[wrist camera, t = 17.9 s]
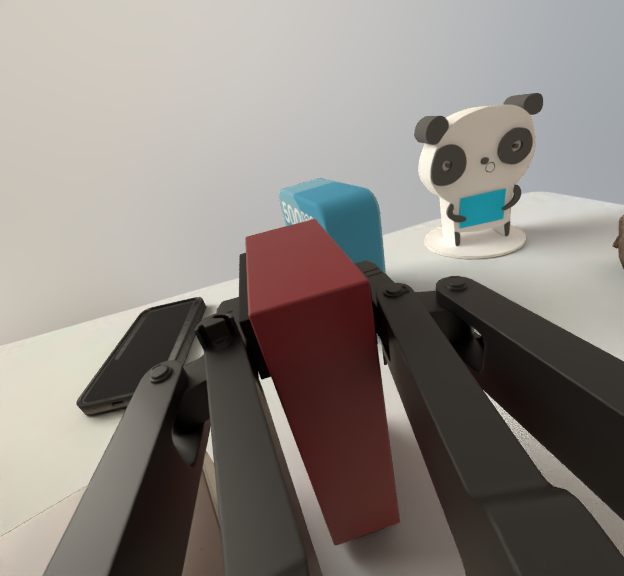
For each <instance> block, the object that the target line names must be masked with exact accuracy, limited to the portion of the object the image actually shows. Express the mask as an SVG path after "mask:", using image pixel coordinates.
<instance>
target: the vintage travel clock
mask: <svg viewBox="0 0 624 576" xmlns="http://www.w3.org/2000/svg"><path fill="white" fill-rule="evenodd" d="M613 247H615V248H618V249H619V259H620V262H621V264H622V266H623V268H624V215H623V216H622V217H621V218H620V220H619V236H618V237H617V239H616V240H615V242H614V243H613Z"/></svg>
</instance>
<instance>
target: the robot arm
mask: <svg viewBox="0 0 624 576" xmlns="http://www.w3.org/2000/svg"><path fill="white" fill-rule="evenodd" d="M354 264H355V265H356V266H357V267H358V269H359V270H360V271H361V272H362V273H363V274H364V275H365V277H366V278H367V279H368V280H369V284H370V292H371V300H372V308H373V316H374V324H375V331H376V333H377V334H378V336H379V337H380V339H381V342H382V350H383V359H384V365H387V363H388V366H389V369H390V371H391V374H392V377H393V379H394V382H395V385H396V387H397V390H398V392H399V395H400V398H401V400H402V403H403V406H404V408H405V411H406V414H407V416H408V419H409V421H410V424H411V427H412V429H413V432H414V435H415V437H416V440H417V442H418V445H419V448H420V450H421V453H422V456H423V458H424V461H425V464H426V466H427V469H428V471H429V474H430V477H431V479H432V482H433V485H434V487H435V490H436V493H437V495H438V498H439V500H440V503H441V506H442V508H443V511H444V514H445V516H446V519H447V522H448V524H449V527H450V529H451V532H452V535H453V537H454V540H455V543H456V545H457V548H458V551H459V553H460V556H461V559H462V562H463V565H464V569H465V573H466V576H624V557H623V556H622V554H621V553H620V552H619V550H618V549H617V548H616V546H615V545H614V544H613V542H612V541H611V540H610V538H609V537H608V536H607V534H606V533H605V532H604V530H603V529H602V528H601V526H600V525H599V524H598V522H597V521H596V520H595V518H594V517H593V516H592V514H591V513H590V512H589V511H588V510H587V509H586V507H585V506H584V505H583V504H582V503H581V502H580V500H579V499H578V498H576V497H575V496H574V495H572V494H571V493H570V492H569V491H567V490H565V489H561V488H557V487H554V486H552V485H551V484H550V483H549V482H547V480H546V479H545V478H544V477H543V475H542V474H541V473H540V471H539V470H538V468H537V467H536V466H535V464H534V463H533V461H532V460H531V458H530V457H529V455H528V454H527V453H526V451H525V450H524V448H523V447H522V445H521V444H520V443H519V441H518V440H517V438H516V437H515V435H514V434H513V433H512V431H511V430H510V428H509V427H508V425H507V424H506V422H505V421H504V420H503V418H502V417H501V415H500V414H499V412H498V411H497V410H496V408H495V407H494V405H493V404H492V402H491V401H490V400H489V398H488V397H487V395H486V394H485V392H486V393H487V394H488V395H489V396H490V397H491V398H492V399H494V400H495V401H496V402H497V403H498V404H499V405H500V406H501V407H502V408H503V409H504V410H505V411H506V412H507V413H509V414H510V415H511V416H512V417H513V418H514V419H515V420H516V421H517V422H518V423H519V424H520V425H521V426H523V427H524V428H525V429H526V430H527V431H528V432H529V433H530V434H531V435H532V436H533V437H534V438H535V439H537V440H538V441H539V442H540V443H541V444H542V445H543V446H544V447H545V448H546V449H547V450H548V451H549V452H551V453H552V454H553V455H554V456H555V457H556V458H557V459H558V460H559V461H560V462H561V463H562V464H563V465H565V466H566V467H567V468H568V469H569V470H570V471H571V472H572V473H573V474H574V475H575V476H576V477H577V478H579V479H580V480H581V481H582V482H583V483H584V484H585V485H586V486H587V487H588V488H589V489H590V490H591V491H593V492H594V493H595V494H596V495H597V496H598V497H599V498H600V499H601V500H602V501H603V502H604V503H605V504H606V505H608V506H609V507H610V508H611V509H612V510H613V511H614V512H615V513H616V514H617V515H618V516H619V517H620V518H622V519H623V520H624V361H622V360H620V359H618V358H616V357H614V356H613V355H611V354H609V353H607V352H605V351H603V350H601V349H600V348H598V347H596V346H594V345H592V344H590V343H588V342H587V341H585V340H583V339H581V338H579V337H577V336H575V335H574V334H572V333H570V332H568V331H566V330H564V329H563V328H561V327H559V326H557V325H555V324H553V323H551V322H550V321H548V320H546V319H544V318H542V317H540V316H538V315H537V314H535V313H533V312H531V311H529V310H527V309H526V308H524V307H522V306H520V305H518V304H516V303H514V302H513V301H511V300H509V299H507V298H505V297H503V296H501V295H500V294H498V293H496V292H494V291H492V290H490V289H489V288H487V287H485V286H483V285H481V284H479V283H477V282H476V281H474V280H472V279H469V278H466V277H460V276H450V277H446V278H443V279H441V280H439V281H438V282H437V283H436V291H428V292H414V291H413V289H412V288H411V287H410V286H408V285H406V284H402V283H394V282H393V281H392V280H391V279H390V278H389V277H388V276H387V275H386V274H385V273H383V271H382V270H381V269H379V267H378V266H377V265H376V264H375V263H373V262H370V261H367V260H365V261H361V262H358V263H354ZM239 265H240V266H239V268H240V269H239V271H240V272H239V297H237V298H233V299H230V300H226V301H223V302H222V303H221V304H220V306H219V307H218V308H217V313H216V314H213V315H211V316H209V317H207V318H205V319H204V320H202V321H201V322H199V324H198V325H197V326H196V328H195V331H194V332H195V334H196V336H197V338H198V340H199V342H200V344H201V346H202V348H203V350H204V355H203V356H201V357H200V358H198V359H197V360H195V361H193V362H191V363H189V364H187V365H185V366H182V364H181V363H180V362H179V361H176V360H169V361H165V362H162V363H160V364H158V365H156V366H154V367H153V368H151V369H150V370H149V371H148V372H147V373H146V374H145V375H144V376H143V378H142V379H141V381H140V383H139V385H138V387H137V389H136V391H135V393H134V395H133V397H132V399H131V401H130V403H129V405H128V407H127V409H126V411H125V413H124V415H123V416H122V418H121V420H120V422H119V424H118V426H117V428H116V430H115V432H114V434H113V436H112V438H111V440H110V442H109V444H108V446H107V448H106V450H105V452H104V454H103V456H102V458H101V460H100V462H99V464H98V466H97V468H96V470H95V472H94V474H93V476H92V478H91V480H90V482H89V484H88V486H87V488H86V490H85V492H84V494H83V496H82V498H81V500H80V502H79V504H78V506H77V508H76V510H75V512H74V514H73V516H72V518H71V520H70V522H69V524H68V526H67V528H66V530H65V532H64V534H63V536H62V538H61V540H60V542H59V544H58V546H57V548H56V550H55V552H54V554H53V556H52V558H51V560H50V562H49V564H48V565H47V567H46V569H45V571H44V573H43V575H42V576H182V573H183V567H184V562H185V557H186V552H187V546H188V541H189V536H190V531H191V526H192V520H193V515H194V510H195V505H196V500H197V494H198V489H199V484H200V479H201V473H202V468H203V463H204V458H205V453H206V447H207V442H208V437H209V432H210V426H211V435H212V446H213V457H214V468H215V479H216V490H217V501H218V512H219V523H220V534H221V545H222V555H223V566H224V576H322V573H321V569H320V566H319V563H318V560H317V557H316V554H315V551H314V548H313V544H312V541H311V538H310V535H309V532H308V529H307V526H306V523H305V520H304V516H303V513H302V510H301V507H300V504H299V501H298V498H297V495H296V491H295V488H294V485H293V482H292V479H291V476H290V473H289V470H288V466H287V463H286V460H285V457H284V454H283V451H282V448H281V445H280V441H279V438H278V435H277V432H276V429H275V426H274V423H273V420H272V417H271V413H270V410H269V407H268V404H267V401H266V398H265V395H264V392H263V388H262V386H261V383H260V381H259V376H258V372H259V374H260V377H261V379H265V378H268V377H271V375H270V372H269V369H268V367H267V364H266V361H265V359H264V356H263V353H262V351H261V348H260V345H259V343H258V340H257V337H256V335H255V332H254V329H253V327H252V324H251V321H250V319H249V316H248V291H247V265H246V253H244V254H240V264H239ZM474 329H476V330H477V331H478V332H479V333H480V334H481V336H480V335H478V334H477V333H476V332H474ZM377 334H376V339H377ZM377 344H378V341H377ZM483 390H484V391H485V392H484V391H483Z"/></svg>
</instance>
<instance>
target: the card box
mask: <svg viewBox="0 0 624 576" xmlns="http://www.w3.org/2000/svg"><path fill="white" fill-rule="evenodd" d="M246 265H247V291H248V316H249V319H250V321H251V324H252V327H253V329H254V332H255V335H256V337H257V340H258V343H259V345H260V348H261V351H262V353H263V356H264V359H265V361H266V364H267V367H268V369H269V372H270V375H271V377H272V380H273V383H274V385H275V388H276V391H277V393H278V396H279V399H280V401H281V404H282V407H283V409H284V412H285V415H286V417H287V420H288V423H289V425H290V428H291V431H292V433H293V436H294V439H295V441H296V444H297V447H298V449H299V452H300V455H301V457H302V460H303V463H304V465H305V468H306V471H307V473H308V476H309V479H310V481H311V484H312V487H313V489H314V492H315V495H316V497H317V500H318V503H319V505H320V508H321V511H322V513H323V516H324V519H325V521H326V524H327V527H328V529H329V532H330V535H331V537H332V540H333V543H334V545H339V544H342V543H344V542H347V541H350V540H353V539H355V538H358V537H361V536H364V535H366V534H369V533H372V532H375V531H377V530H380V529H383V528H386V527H388V526H391V525H394V524H396V523H399V522H400V519H399V512H398V504H397V496H396V488H395V480H394V472H393V465H392V457H391V449H390V441H389V433H388V425H387V418H386V410H385V402H384V394H383V386H382V378H381V371H380V363H379V355H378V347H377V339H376V331H375V324H374V316H373V308H372V300H371V292H370V284H369V280H368V279H367V278H366V277H365V275H364V274H363V273H362V272H361V271H360V270H359V269H358V267H357V266H356V265H355V264H354V263H353V262H352V261H351V259H350V258H349V257H348V256H347V255H346V254H345V253H344V251H343V250H342V249H341V248H340V247H339V246H338V245H337V243H336V242H335V241H334V240H333V239H332V238H331V236H330V235H329V234H328V233H327V232H326V231H325V230H324V228H323V227H322V226H321V225H320V224H319V223H318V222H317V220H316V219H312V220H308V221H304V222H300V223H297V224H293V225H289V226H286V227H282V228H278V229H275V230H270V231H267V232H263V233H259V234H255V235H252V236H248V237H246Z"/></svg>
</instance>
